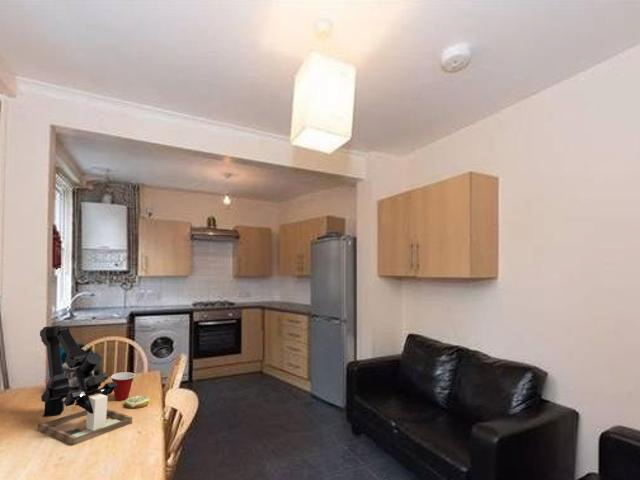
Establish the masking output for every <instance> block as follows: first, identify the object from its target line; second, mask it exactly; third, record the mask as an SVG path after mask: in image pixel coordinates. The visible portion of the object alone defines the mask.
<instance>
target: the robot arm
mask: <svg viewBox="0 0 640 480" xmlns="http://www.w3.org/2000/svg"><path fill="white" fill-rule="evenodd" d="M70 331H71V330H70V327H69V326H67V325H65V326H61V325H50V326H49V325H48V326H43V327H42V329H40V330H39V337H40V339H41V342H42V343H43V345H45V347H46V355H47V362H48V363H47V366H48V375H49V379H48V380H47V383H46V385H45V390H44V392H43V393H42V395H41V397H40V398H41V402H42V403H44V413H43V415H42V417H53V416H60V415H62V413H63V412H64V410H65V407H70V406H77V407H80V408H82V409H84V410H86V411H88V412H89V413H91V414H93V409H92V406H91V404H90V402H89V397H91V396H95V395H98V394H103V395H106V396H108V395H111V394H112V393H114V389H115V388H116V387H117V384H116V382H114V381H109V382H106V381H107V380H109V375H108V373H107V371H104V372H102V373H100V374H98V375H96V374H95V375H94V374H93V372H94V371H95V370H96V368H97V367H98V366H99V364H100V363H101V361H102V359H103V358H102V356H101V355H100V354H99V353H96V352H94V350H91V351H88V352H86V350H85V349H84V348H82V347H80V346H79V345H78V344H77V342H76V340H75V338H74V336H73V335H72V333H71V332H70ZM61 346H62V348H63V350H64V352H65V354H66V357H65V362H66V363H67V366H68V367H69V368H75V367H78V368H77V369H76V370H75V371H74V373H73V377H76V378H77V381H78V383H79V385H78V388H81V391H82V392H81V391H75V392H71V393H69V389H70V386H69V379H68V378H65V377H64V373H63V368H62V366H63V364H62V355H61ZM103 383H104V385H103V386H102V384H103ZM100 386H102V387H100ZM68 393H69V395H68Z"/></svg>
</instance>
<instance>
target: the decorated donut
mask: <svg viewBox="0 0 640 480" xmlns="http://www.w3.org/2000/svg"><path fill="white" fill-rule="evenodd" d="M148 404H150V396H149V395H144V394H136V395H133V396H130V397H129V396H128V398H127V399H126V400H124V405H125V406H126V408H129V409H140V408H145V407H146V406H148Z"/></svg>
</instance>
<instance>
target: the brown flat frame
mask: <svg viewBox="0 0 640 480" xmlns="http://www.w3.org/2000/svg"><path fill="white" fill-rule="evenodd" d="M85 416H86V417H87V411H86V410H85V409H84V410H82V411H79V412H75V413H74V412H73V413H71V414H69V415H65V416H62V417H59V418H55V419H52V420H49V421H46V422H39V423H37V430H38V431H40V432H42V433H44V434H47V435H48V436H50V437H51V436H52V437H53V438H55V439H58V440H60V441H63V442H64V443H66V444H69V445H71V446H75V445H78V444H81V443H83V442H87V441H88V440H91V439H94V438H96V437H99V436H103V435H104V434H107V433H111V431H115V430H117V429H120V428H123V427H126V426H128V425H131V424H133V416H131V415H127V414H125V413H121V412H119V411H115V410H113V409H110V408H107V414H106V420H108V419H109V418H111V419H113V420H115V419H118V420H120V422H117V423H114V424H112V425H109V426H106V427H104V428H101V429H98V430H95V431H93V432H90V433H87V434H84V435H82V436H79V437H75V436H73V434H75V433H78V432H81V431H83V430H82V429H80V428H73V429H71V430H70V429H69V430H67V431H64V430H60V429H58V428H56V427H54V426H57V425H61V424H63V423H66V422H70V421H72V420H76V419H79V418H81V417H85Z"/></svg>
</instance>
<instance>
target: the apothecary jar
mask: <svg viewBox="0 0 640 480" xmlns="http://www.w3.org/2000/svg"><path fill="white" fill-rule="evenodd" d="M77 368H78V367H75V368H69V367H68V366H67V363H66V361H64V363H63V364H62V370H63V371H64V373H63V376H64V377H65V378H68V379H69V386H70V389H69V393H71V392H75V391H81V388H78V385H79V383H78V381H77V378H76V377H73V373H74V371H75V370H76V369H77ZM81 392H82V391H81ZM69 393H68V395H69Z"/></svg>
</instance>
